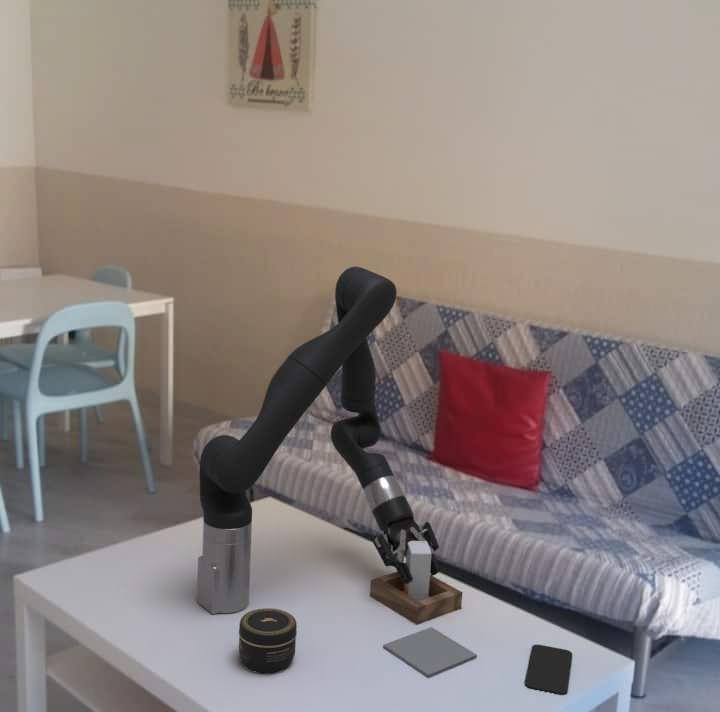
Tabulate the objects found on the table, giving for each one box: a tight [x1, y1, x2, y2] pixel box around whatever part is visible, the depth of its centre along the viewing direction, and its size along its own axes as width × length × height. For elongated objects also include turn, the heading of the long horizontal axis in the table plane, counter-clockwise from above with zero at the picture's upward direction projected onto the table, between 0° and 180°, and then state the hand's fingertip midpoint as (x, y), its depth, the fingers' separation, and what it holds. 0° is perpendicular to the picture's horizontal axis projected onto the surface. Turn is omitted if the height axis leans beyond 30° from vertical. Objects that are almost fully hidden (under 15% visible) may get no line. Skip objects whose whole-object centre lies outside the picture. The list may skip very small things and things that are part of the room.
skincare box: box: [403, 541, 432, 601], centre depth 192 cm, size 6×4×12 cm
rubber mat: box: [382, 626, 478, 679], centre depth 175 cm, size 12×12×1 cm
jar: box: [238, 607, 298, 674], centre depth 168 cm, size 10×10×8 cm
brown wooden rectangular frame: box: [369, 571, 463, 625], centre depth 193 cm, size 12×14×4 cm
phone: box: [523, 644, 573, 696], centre depth 172 cm, size 7×1×15 cm
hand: (422, 577), depth 191 cm, fingers closed on skincare box, 6 cm apart
